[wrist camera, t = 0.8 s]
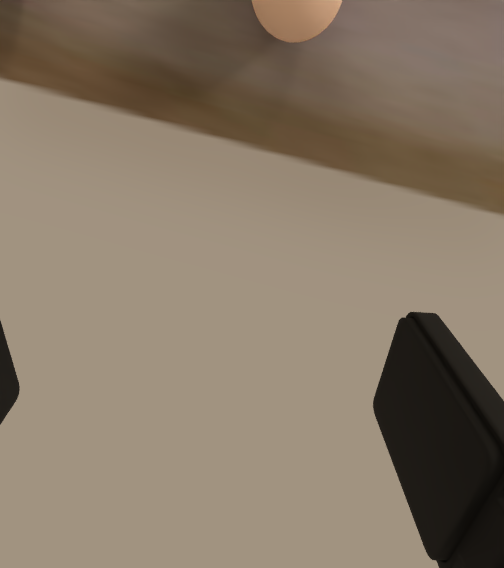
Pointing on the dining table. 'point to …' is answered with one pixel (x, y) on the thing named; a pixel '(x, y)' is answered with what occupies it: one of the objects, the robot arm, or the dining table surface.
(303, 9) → the egg
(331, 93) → the dining table surface
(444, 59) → the dining table surface
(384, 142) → the dining table surface
